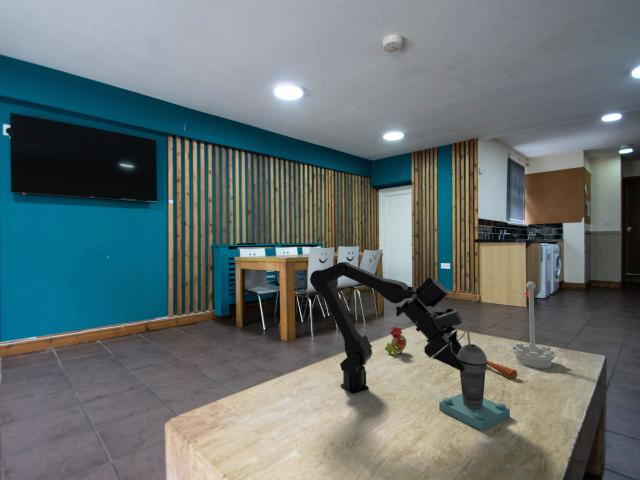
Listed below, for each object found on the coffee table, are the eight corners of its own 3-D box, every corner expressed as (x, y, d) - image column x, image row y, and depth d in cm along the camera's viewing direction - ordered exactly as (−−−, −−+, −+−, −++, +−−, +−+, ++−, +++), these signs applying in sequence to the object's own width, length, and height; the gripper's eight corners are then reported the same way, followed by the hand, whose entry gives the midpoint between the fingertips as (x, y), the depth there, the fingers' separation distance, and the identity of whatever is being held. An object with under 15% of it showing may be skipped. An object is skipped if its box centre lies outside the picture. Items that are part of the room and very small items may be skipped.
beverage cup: (476, 414, 80) (475, 332, 80) (451, 402, 86) (450, 326, 87) (494, 407, 84) (493, 329, 84) (469, 396, 90) (467, 323, 90)
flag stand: (562, 369, 113) (560, 283, 114) (522, 368, 115) (519, 283, 116) (543, 357, 126) (541, 279, 127) (507, 356, 128) (505, 279, 129)
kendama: (506, 369, 104) (458, 347, 123) (508, 386, 105) (460, 362, 124) (519, 363, 106) (470, 342, 125) (520, 380, 107) (472, 357, 126)
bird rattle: (395, 355, 137) (379, 350, 133) (403, 329, 139) (387, 323, 135) (406, 359, 131) (390, 354, 127) (413, 333, 134) (398, 326, 130)
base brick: (481, 430, 76) (481, 418, 77) (439, 409, 87) (439, 398, 87) (510, 416, 83) (509, 405, 83) (467, 398, 93) (467, 388, 93)
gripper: (437, 304, 81) (487, 356, 75) (448, 294, 97) (490, 336, 91) (405, 332, 84) (451, 384, 79) (421, 318, 101) (460, 360, 95)
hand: (465, 364), depth 86 cm, fingers open, 9 cm apart
